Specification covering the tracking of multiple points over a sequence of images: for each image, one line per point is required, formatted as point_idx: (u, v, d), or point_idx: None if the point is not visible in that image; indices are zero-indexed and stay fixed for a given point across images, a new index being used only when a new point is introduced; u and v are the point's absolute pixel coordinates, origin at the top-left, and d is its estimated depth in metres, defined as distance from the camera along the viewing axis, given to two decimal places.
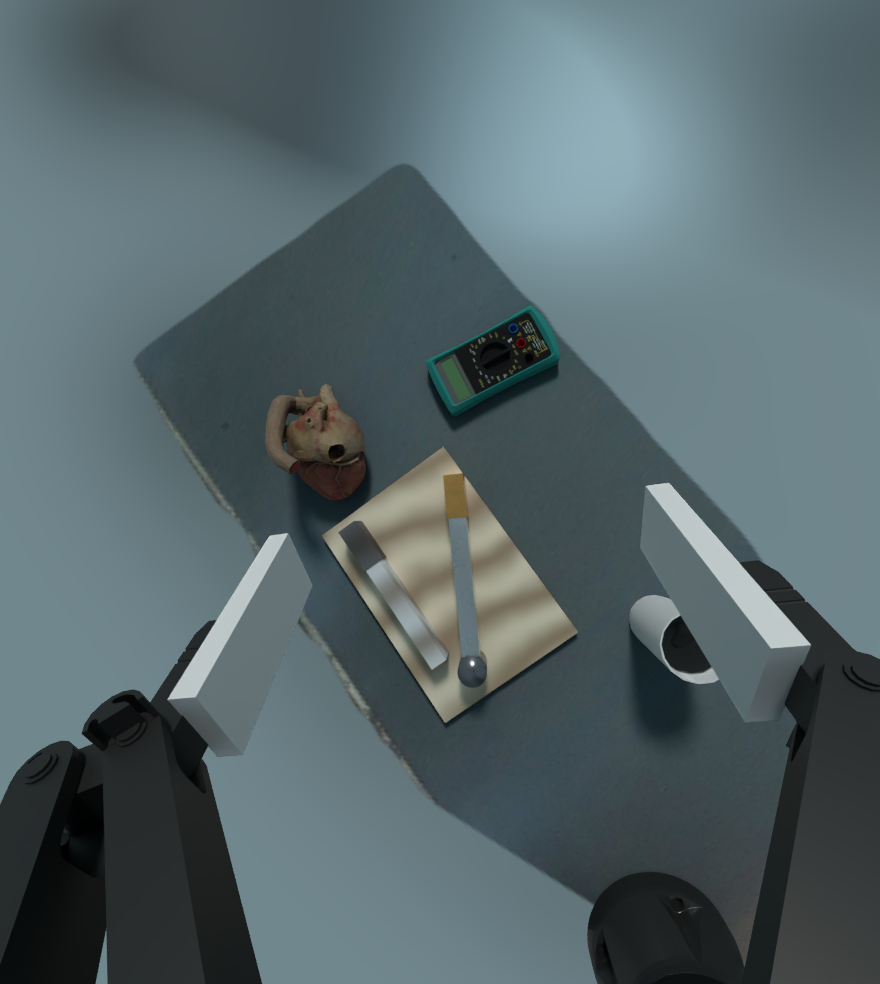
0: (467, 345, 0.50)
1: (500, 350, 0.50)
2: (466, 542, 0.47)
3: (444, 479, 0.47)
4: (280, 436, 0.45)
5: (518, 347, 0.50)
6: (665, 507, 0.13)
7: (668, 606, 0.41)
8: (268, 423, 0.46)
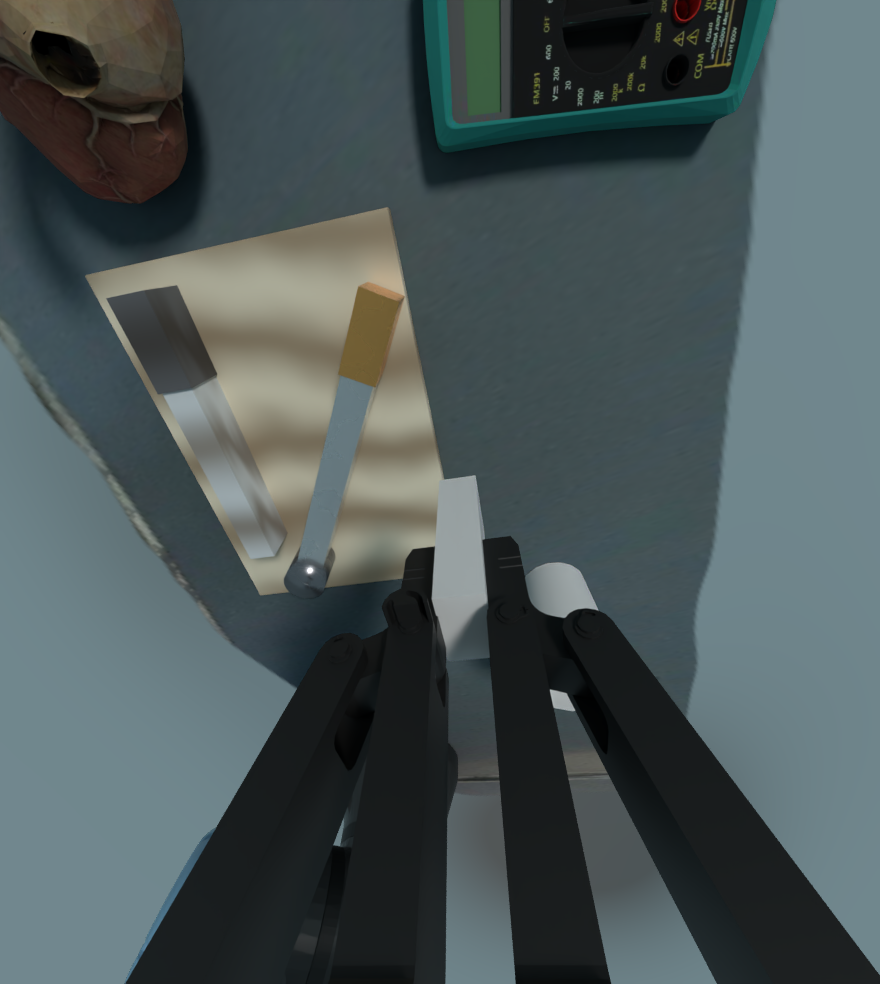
0: None
1: None
2: (358, 427, 0.26)
3: (358, 296, 0.22)
4: None
5: (672, 17, 0.18)
6: (459, 494, 0.16)
7: None
8: None
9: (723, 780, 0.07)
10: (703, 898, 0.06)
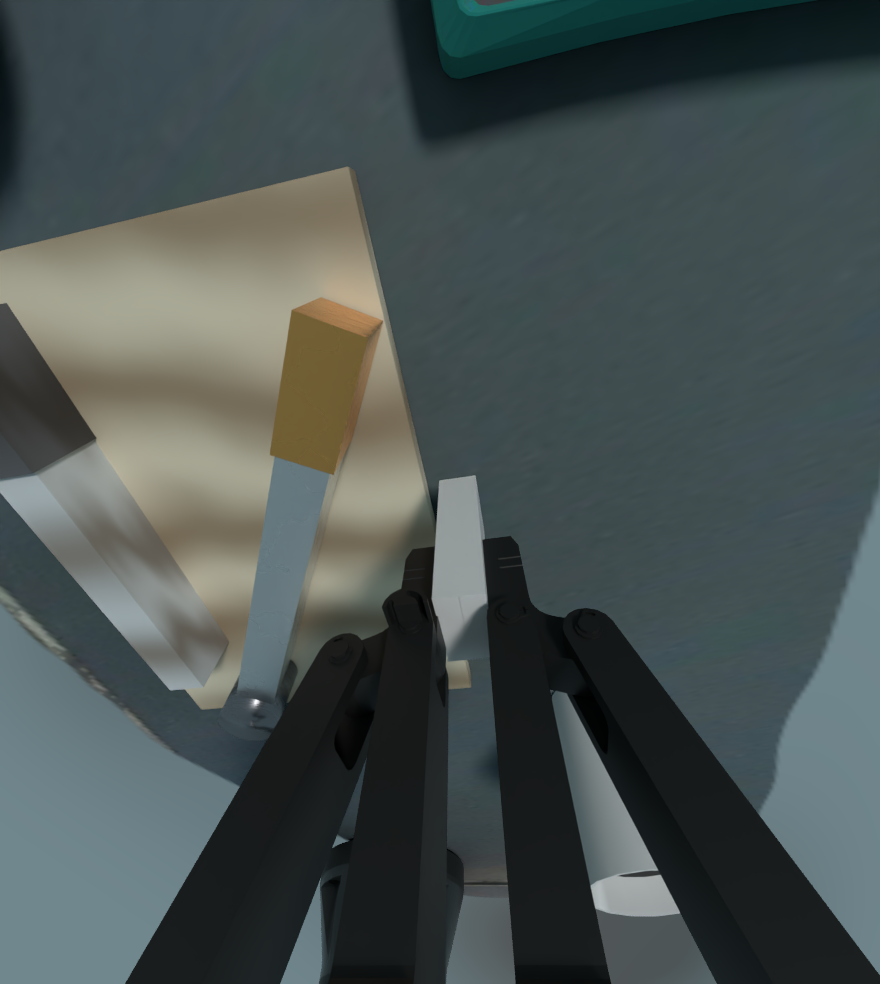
0: None
1: None
2: (310, 530, 0.16)
3: (293, 328, 0.12)
4: None
5: None
6: (459, 494, 0.16)
7: None
8: None
9: (722, 779, 0.07)
10: (703, 898, 0.06)
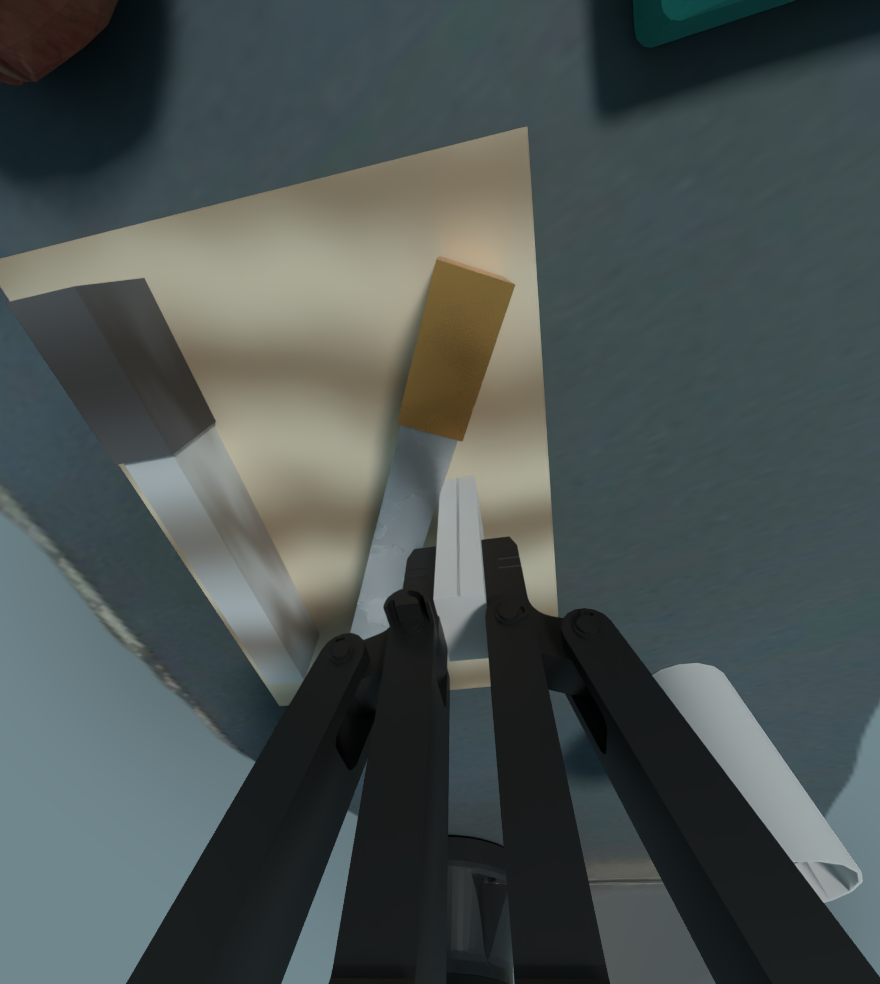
0: None
1: None
2: (430, 505, 0.16)
3: (436, 280, 0.12)
4: None
5: None
6: (458, 494, 0.16)
7: (768, 779, 0.20)
8: None
9: (721, 779, 0.07)
10: (702, 898, 0.06)
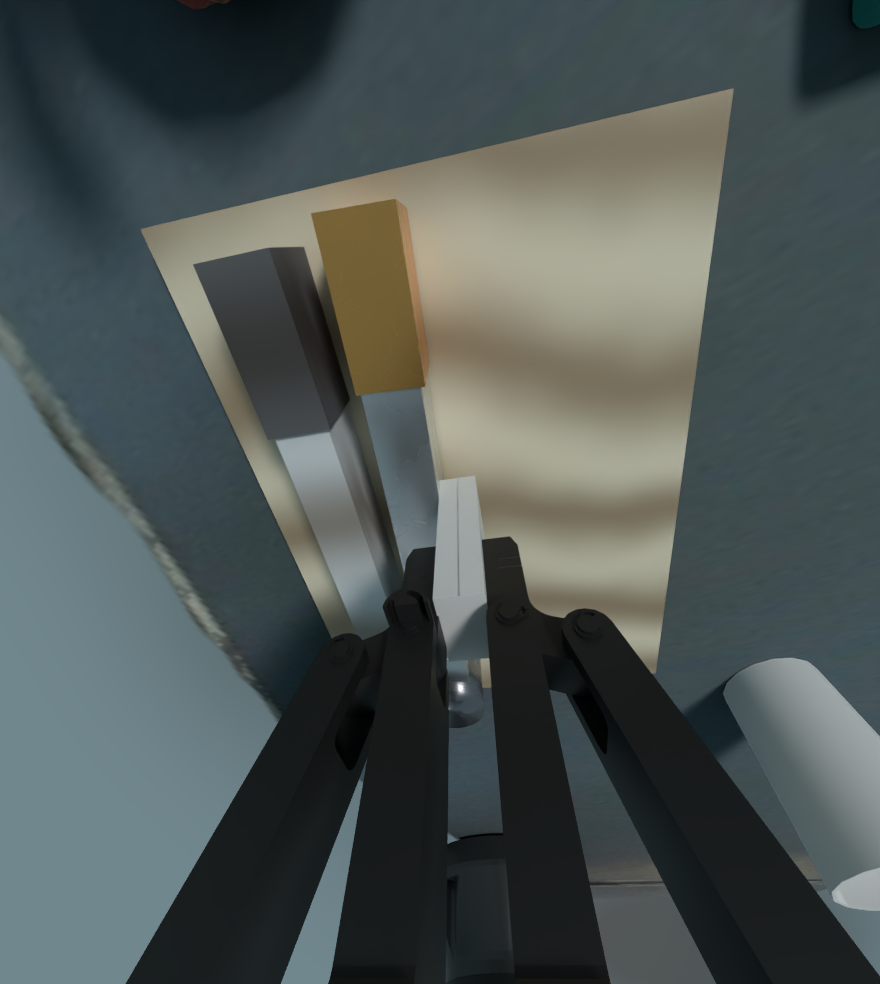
0: None
1: None
2: (427, 465, 0.15)
3: (320, 234, 0.11)
4: None
5: None
6: (459, 494, 0.16)
7: None
8: None
9: (722, 780, 0.07)
10: (702, 898, 0.06)
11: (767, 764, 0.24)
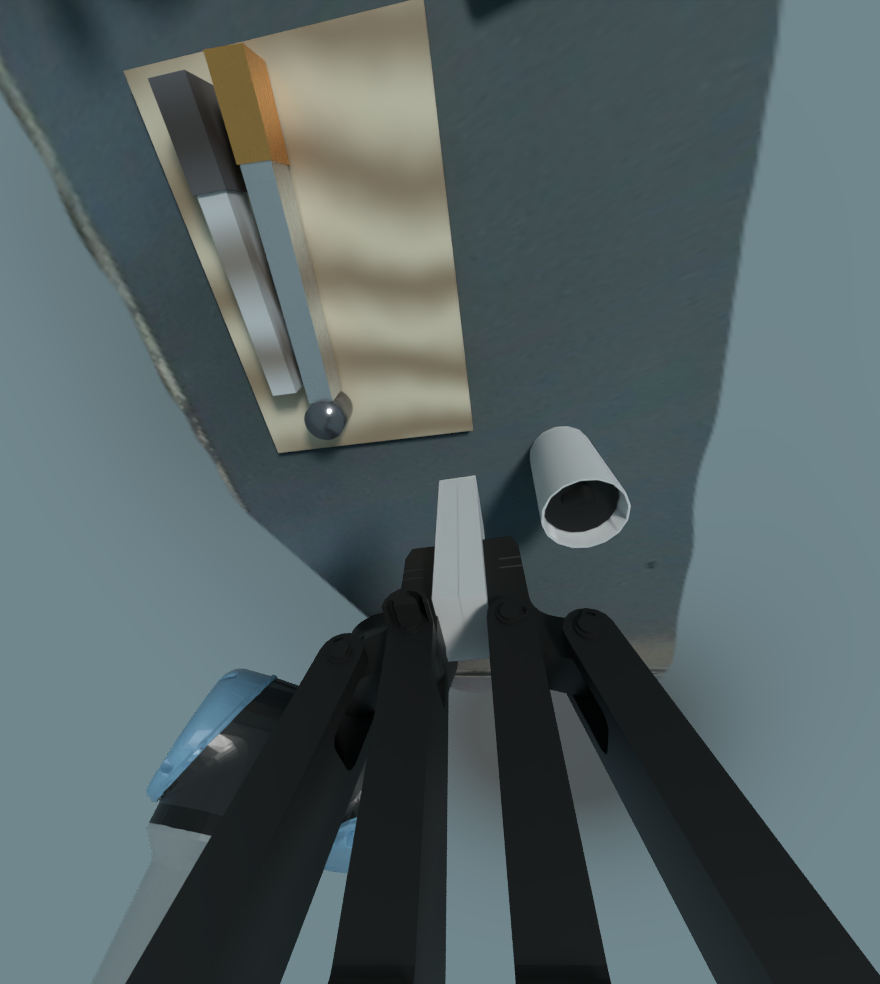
0: None
1: None
2: (282, 216, 0.27)
3: (208, 61, 0.23)
4: None
5: None
6: (459, 494, 0.16)
7: (586, 458, 0.33)
8: None
9: (722, 779, 0.07)
10: (703, 898, 0.06)
11: (534, 481, 0.36)
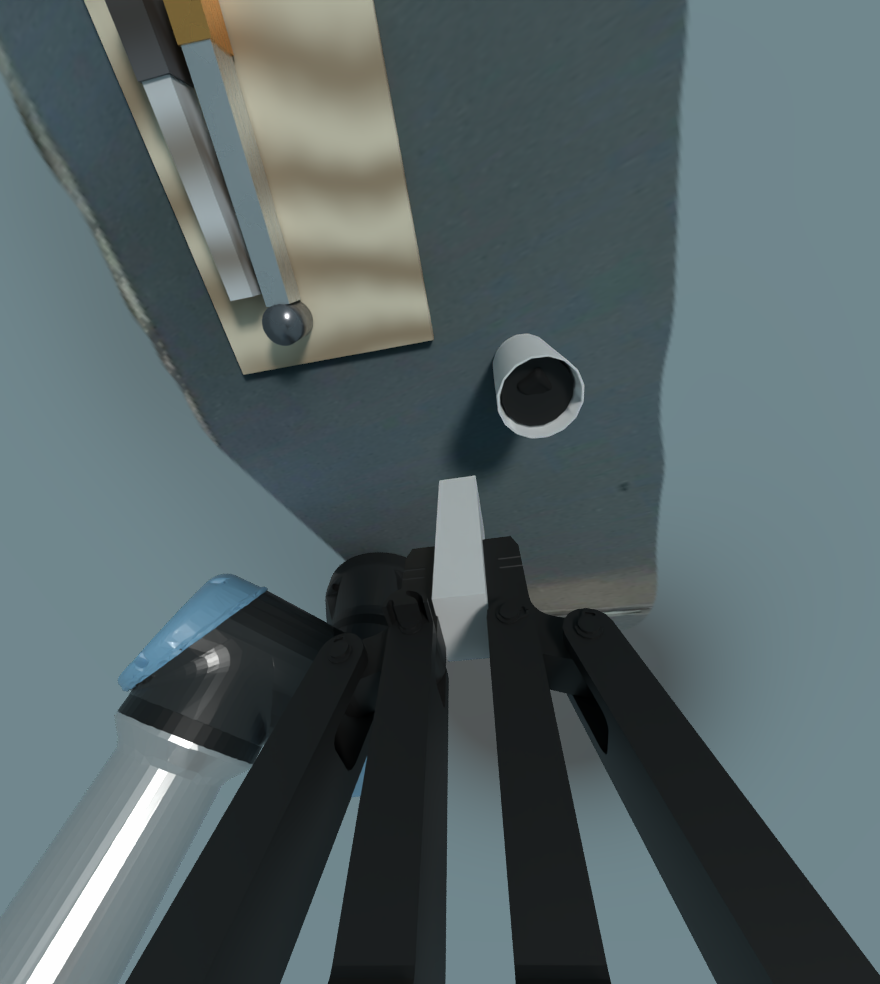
0: None
1: None
2: (225, 100, 0.28)
3: None
4: None
5: None
6: (459, 494, 0.16)
7: (540, 346, 0.33)
8: None
9: (722, 779, 0.07)
10: (703, 898, 0.06)
11: None
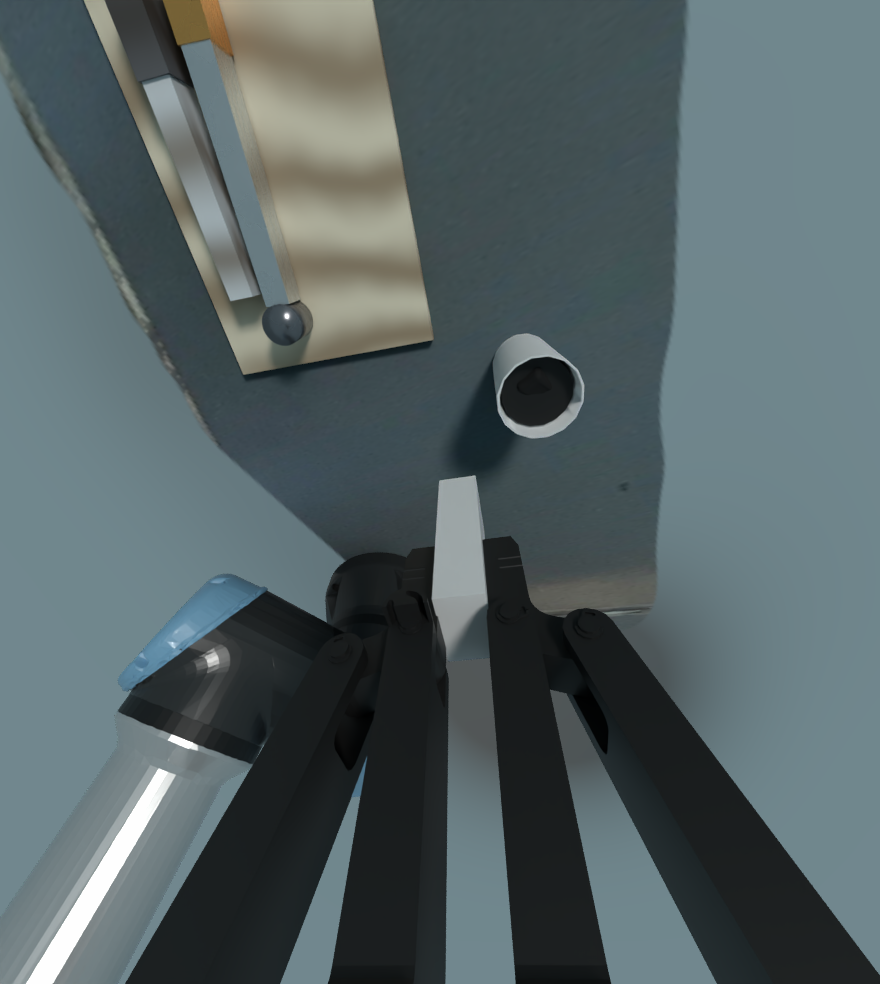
0: None
1: None
2: (225, 100, 0.28)
3: None
4: None
5: None
6: (459, 494, 0.16)
7: (540, 346, 0.33)
8: None
9: (722, 779, 0.07)
10: (703, 898, 0.06)
11: None
